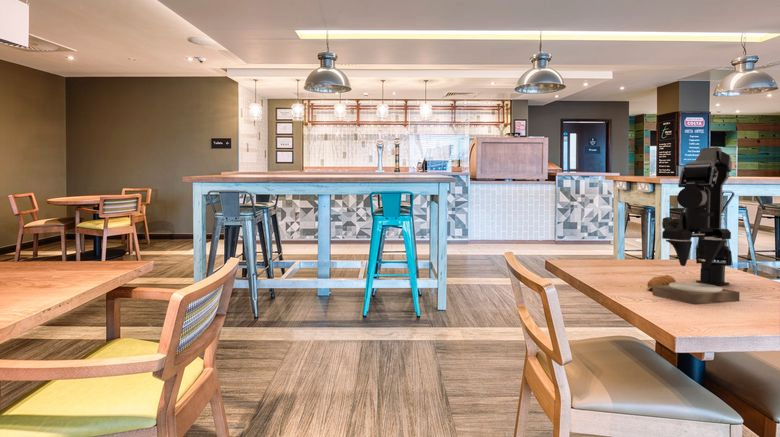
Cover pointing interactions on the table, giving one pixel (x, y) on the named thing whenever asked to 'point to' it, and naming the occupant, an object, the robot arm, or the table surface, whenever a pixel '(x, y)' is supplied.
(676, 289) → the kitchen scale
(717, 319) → the table surface
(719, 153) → the robot arm
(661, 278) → the pastry
